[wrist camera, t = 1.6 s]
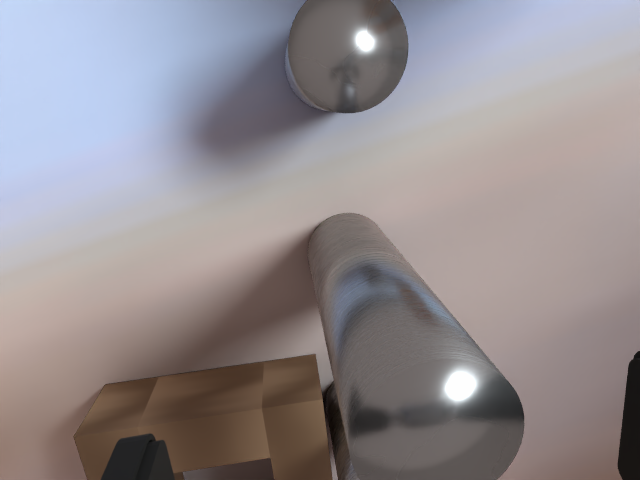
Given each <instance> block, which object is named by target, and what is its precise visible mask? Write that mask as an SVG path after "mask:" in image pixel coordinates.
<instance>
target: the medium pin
mask: <svg viewBox="0 0 640 480" xmlns="http://www.w3.org/2000/svg"><path fill="white" fill-rule="evenodd" d="M326 410H327V416H328V422H329V428H330V434H331V440H332V446H333V452H334V458H335V464H336V470H337V476H338V480H360V479H359V478H358V476H357V474H356V472H355V471H354V468H353V465H352V462H351V458H350V454H349V449H348V444H347V439H346V435H345V430H344V425H343V421H342V416H341V411H340V406H339V402H338V397H337V392H336V388H335V383H334V382H333V384H332V385H331V386H330V388H329V390H328V392H327V395H326Z"/></svg>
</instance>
